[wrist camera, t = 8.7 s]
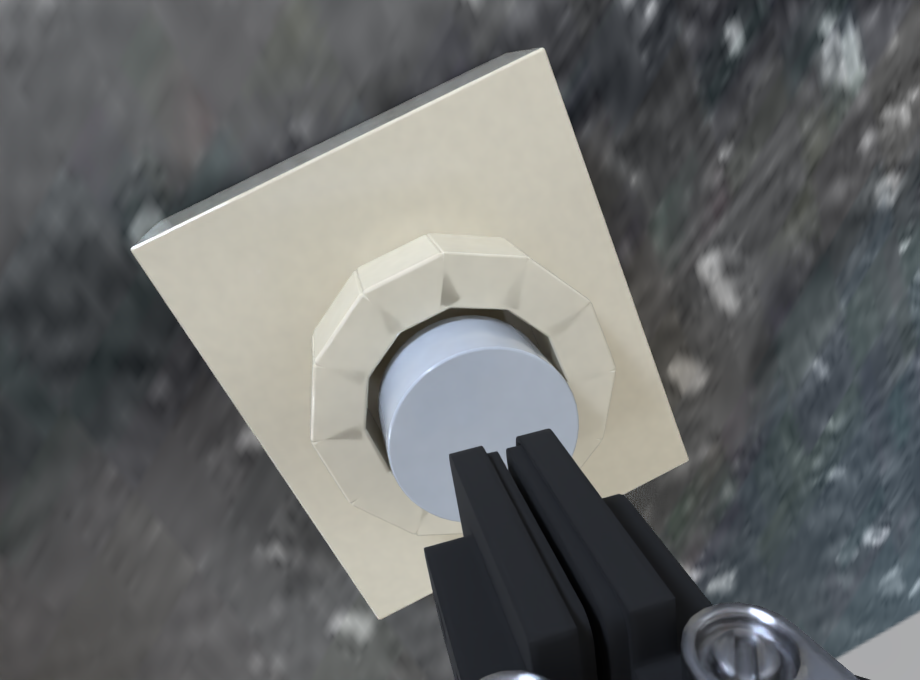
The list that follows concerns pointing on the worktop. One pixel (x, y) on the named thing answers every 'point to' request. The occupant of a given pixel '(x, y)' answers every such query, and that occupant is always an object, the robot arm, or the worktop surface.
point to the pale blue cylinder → (466, 402)
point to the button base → (412, 300)
